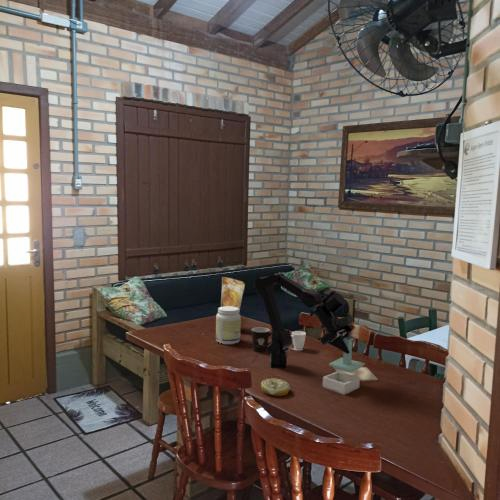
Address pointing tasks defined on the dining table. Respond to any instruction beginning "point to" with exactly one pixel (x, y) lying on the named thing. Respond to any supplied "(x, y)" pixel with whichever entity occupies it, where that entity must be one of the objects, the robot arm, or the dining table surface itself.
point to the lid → (347, 359)
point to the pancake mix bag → (232, 292)
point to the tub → (341, 382)
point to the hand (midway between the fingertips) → (350, 352)
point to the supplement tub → (228, 325)
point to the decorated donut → (275, 387)
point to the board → (361, 374)
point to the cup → (298, 340)
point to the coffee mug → (260, 339)
